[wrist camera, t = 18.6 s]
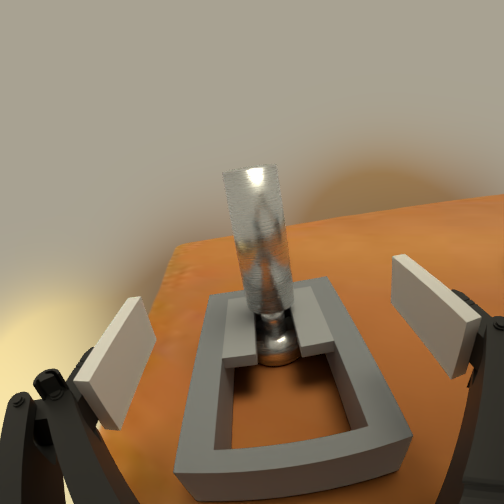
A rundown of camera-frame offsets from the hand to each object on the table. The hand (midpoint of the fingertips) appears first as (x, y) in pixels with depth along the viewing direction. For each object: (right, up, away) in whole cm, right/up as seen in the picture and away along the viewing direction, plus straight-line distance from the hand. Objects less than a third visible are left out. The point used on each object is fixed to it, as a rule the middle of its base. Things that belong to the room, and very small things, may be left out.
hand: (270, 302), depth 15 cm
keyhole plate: (+2, -8, +8) cm, 11 cm away
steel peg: (+1, -6, +12) cm, 14 cm away
